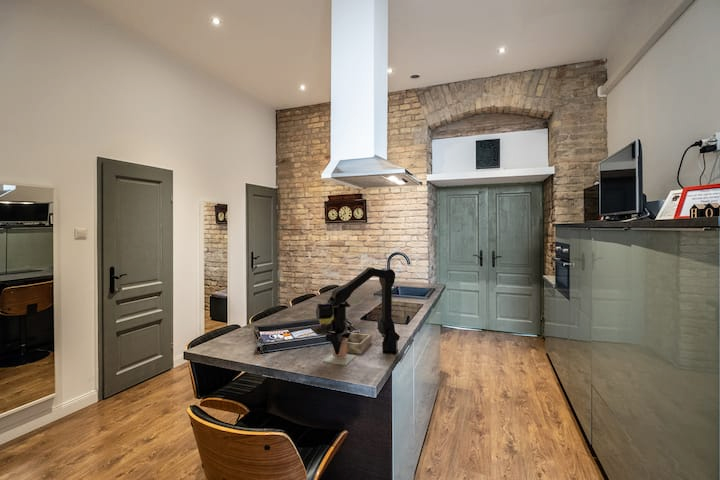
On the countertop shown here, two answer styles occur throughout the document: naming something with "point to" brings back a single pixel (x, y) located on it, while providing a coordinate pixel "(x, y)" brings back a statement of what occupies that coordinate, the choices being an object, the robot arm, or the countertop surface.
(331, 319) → the plant pot
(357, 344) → the cold frame
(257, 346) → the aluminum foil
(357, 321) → the countertop surface
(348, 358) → the sage tile
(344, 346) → the terracotta pot
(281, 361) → the countertop surface
